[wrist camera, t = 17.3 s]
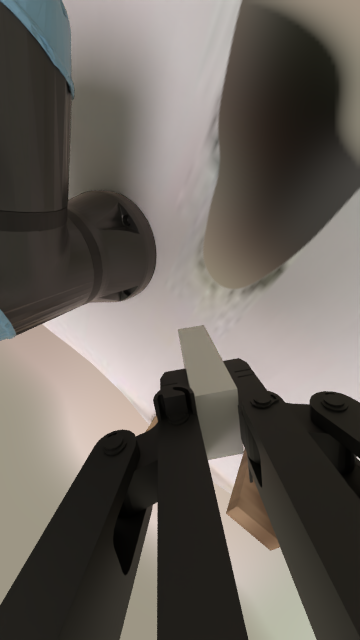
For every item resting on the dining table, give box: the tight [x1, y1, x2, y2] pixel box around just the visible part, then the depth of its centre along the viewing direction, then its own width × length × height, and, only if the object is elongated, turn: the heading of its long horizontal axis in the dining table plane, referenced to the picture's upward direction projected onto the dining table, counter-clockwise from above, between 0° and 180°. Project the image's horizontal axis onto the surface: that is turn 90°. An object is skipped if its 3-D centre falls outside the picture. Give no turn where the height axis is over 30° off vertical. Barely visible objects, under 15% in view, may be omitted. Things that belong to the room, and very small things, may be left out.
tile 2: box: [226, 450, 280, 550], centre depth 33 cm, size 6×3×12 cm, turn 65°
